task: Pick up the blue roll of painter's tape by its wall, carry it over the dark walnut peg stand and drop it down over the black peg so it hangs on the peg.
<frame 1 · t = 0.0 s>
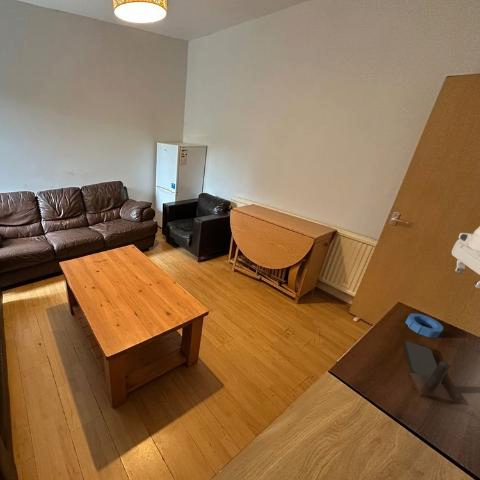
hand: (467, 279, 89), 20 cm above the table, tool pointing down, fingers open, 8 cm apart
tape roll: (422, 328, 95), on the table
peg: (428, 389, 74), on the table
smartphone: (420, 361, 82), on the table, touching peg
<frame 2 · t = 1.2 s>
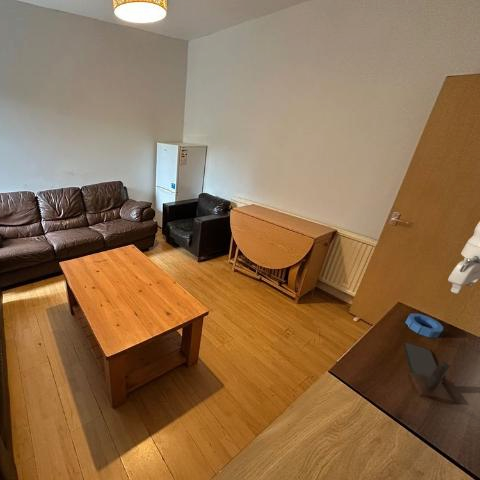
hand: (461, 288, 88), 18 cm above the table, tool pointing down, fingers open, 8 cm apart
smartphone: (420, 363, 83), on the table
everything else where it was.
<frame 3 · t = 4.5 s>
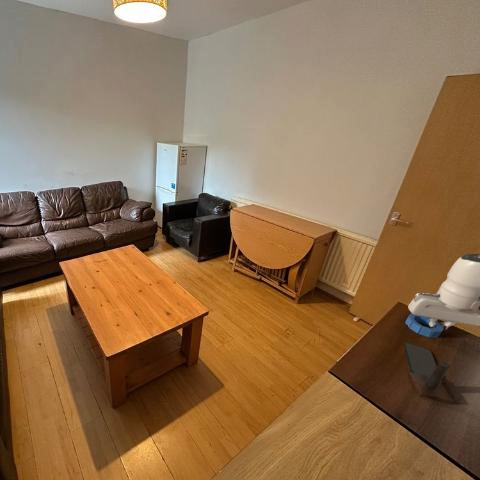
hand: (437, 327, 93), 2 cm above the table, tool pointing down, fingers closed on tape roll
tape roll: (422, 328, 95), on the table, touching gripper
everything else where it was.
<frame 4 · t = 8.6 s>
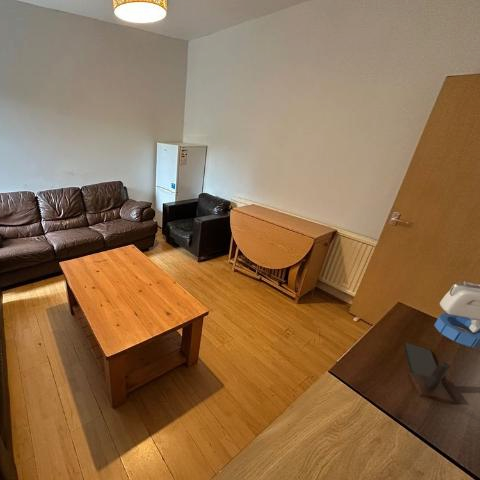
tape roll: (459, 333, 68), point 20 cm above the table, touching gripper
everything else where it was.
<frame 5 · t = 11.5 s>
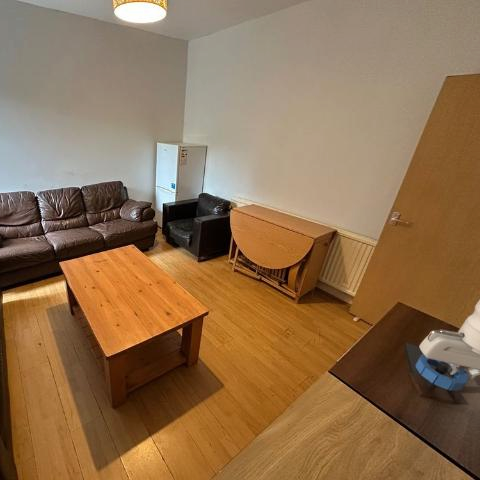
hand: (459, 374, 70), 8 cm above the table, tool pointing down, fingers closed on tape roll
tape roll: (438, 374, 72), point 6 cm above the table, touching gripper
everything else where it was.
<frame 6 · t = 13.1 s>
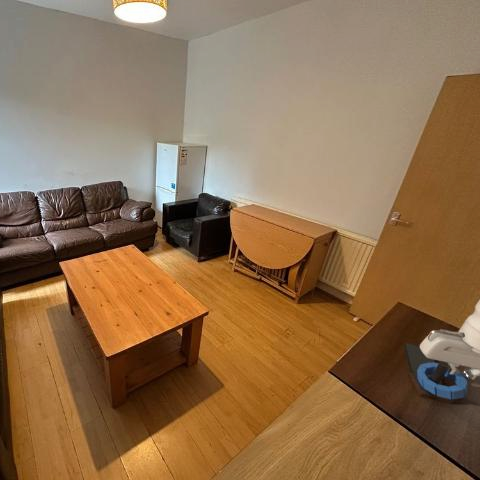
hand: (459, 374, 69), 8 cm above the table, tool pointing down, fingers closed
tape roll: (441, 383, 72), point 3 cm above the table, tilted 21°
everything else where it was.
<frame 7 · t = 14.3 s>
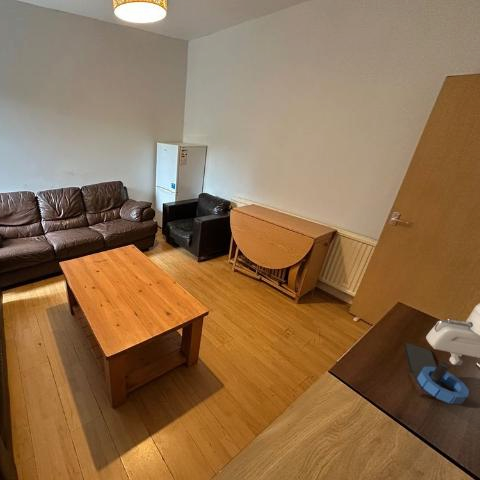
hand: (467, 365, 68), 12 cm above the table, tool pointing down, fingers open, 4 cm apart
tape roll: (439, 387, 73), point 1 cm above the table, touching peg
everything else where it was.
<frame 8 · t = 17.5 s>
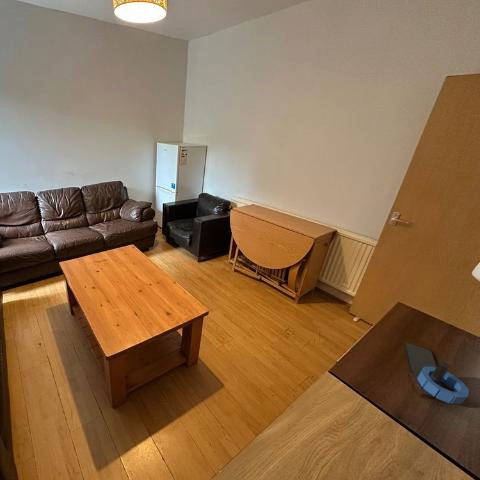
nothing on the table moved.
at the end: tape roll 2.1 cm from the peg (horizontally); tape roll point 1.5 cm above the table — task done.
